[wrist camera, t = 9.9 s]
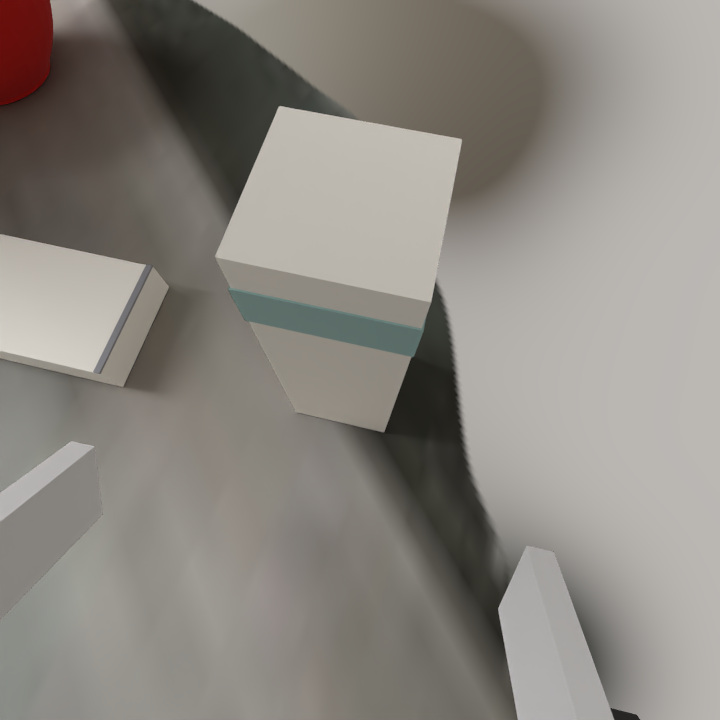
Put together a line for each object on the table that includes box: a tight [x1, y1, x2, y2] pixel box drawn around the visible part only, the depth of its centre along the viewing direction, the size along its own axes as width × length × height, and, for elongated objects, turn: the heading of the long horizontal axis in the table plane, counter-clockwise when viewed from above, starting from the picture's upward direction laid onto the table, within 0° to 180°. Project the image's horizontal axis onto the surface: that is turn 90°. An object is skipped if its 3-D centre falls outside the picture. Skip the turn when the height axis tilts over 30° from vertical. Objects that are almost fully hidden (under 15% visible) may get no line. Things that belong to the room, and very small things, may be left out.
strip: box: [0, 234, 169, 387], centre depth 21 cm, size 12×6×2 cm, turn 77°
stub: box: [215, 106, 462, 432], centre depth 15 cm, size 5×5×13 cm
